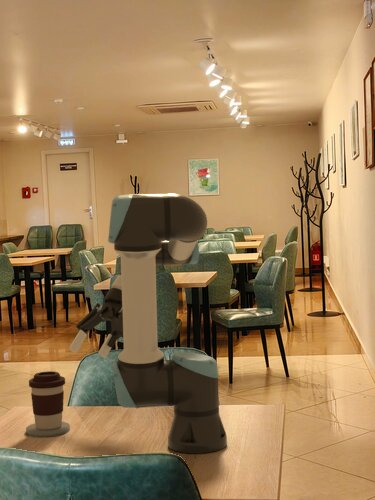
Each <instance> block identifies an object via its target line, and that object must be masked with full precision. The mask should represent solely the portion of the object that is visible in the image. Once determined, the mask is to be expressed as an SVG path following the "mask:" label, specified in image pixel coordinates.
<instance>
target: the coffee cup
mask: <svg viewBox="0 0 375 500" xmlns="http://www.w3.org/2000/svg"><path fill="white" fill-rule="evenodd" d="M65 384H66V377H64V376H61V373H60V372H58V371H54V370H51V371H41V372H36V373H35V374H34V375H33V377H32V378H30V379H29V380H28V386H29V387H30V389H31V395H30V397H31V404H32V412H33V416H34V423H35V426H36V428H37V429H39V430H52V429H57V428H59V427H61V425H62V422H63V412H64V398H65V397H64V395H65V394H64V391H65V390H64V385H65Z"/></svg>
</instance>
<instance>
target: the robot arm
mask: <svg viewBox="0 0 375 500" xmlns="http://www.w3.org/2000/svg"><path fill="white" fill-rule="evenodd" d="M207 227H208V217H207V214H206V212H205V209H204V208H203V207H202V206H201V205H200V204H199V203H198V202H197V201H195V200H194V199H192V198H190V197H188V196H185V195H182V194H179V193H138V194H137V193H130V194H121V195H120V194H119V195H116V196H115V197H113V199H112V201H111V209H110V218H109V229H108V238H107V241H108V243H109V244H113V247H114V251H115V253H117V254H118V255H119V256H120V272H119V273H118V275H117V277H116V278H115V279H114V281H113V283H112V284H111V287H110V288H109V289H108V291H107V293H106V295H105V297H104V298H105V303H104V304H103V305H101V304H100V303H99V302H98V303H96V304H95V306H93V308H92V309H91V310H90V311H89V313H87V314H86V315H85V316H84V318H82V319H81V320H80V321H79V322H78V323H77V324H76V325H75V328H77V329H78V331H77V332H76V335H75V337H74V339H73V341H72V342H71V344H70V345H69V348H68V349H69V350H71V352H73V353H74V354H77V353H78V351H79V349H81V346H82V344H83V342H84V341H85V339H86V338H87V336H88V332H90V331H92V329H94V328H95V327H96V326H98V325H99V324H101V323H104V322H105V321H106V322H108V321H109V322H110V326H111V327H110V328H111V329H110V330H111V331H110V333H109V334H108V335H107V337H106V339H104V342H103V344H102V345H101V347H100V349H99V351H98V353H97V354H98V355H100V356H101V357H102V358H103V359H106V358H107V357H108V355H109V353H110V352H111V350H112V348H113V347H114V345H116V342H117V341H118V340H119V339H120V338H122V340H123V349H122V350H121V351H120V352H119V354H118V355H117V360H118V361H115V362H113V363H112V372H113V373H112V374H113V382H114V388H115V392H116V393H115V394H116V398H117V399H116V400H117V402H118V404H119V406H120V407H121V408H125V409H128V408H129V409H142V408H160V407H172V406H173V418H172V421H171V425H170V429H169V432H168V436H167V447H168V448H169V449H170V450H172V451H175V452H179V453H183V454H207V453H212V452H217V451H220V450H221V449H224V448H226V447H227V444H228V440H227V439H228V438H227V432H226V429H225V427H224V424H223V421H222V418H221V415H220V400H219V399H220V397H219V395H220V393H219V378H220V375H219V368H218V362H217V360H216V359H215V358H214V357H211V356H209V355H206V354H201V353H195V352H175V353H173V354H172V356H171V359H165V354H164V352H163V351H162V350H161V349H159V345H158V312H157V311H158V310H157V309H158V308H157V307H158V305H157V266H177V265H178V266H188V265H189V266H190V265H196V264H198V263H199V258H200V249H199V247H200V246H199V242H198V241H199V240H201V238H203V236H204V235H205V233H206V230H207Z"/></svg>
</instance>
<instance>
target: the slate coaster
mask: <svg viewBox="0 0 375 500" xmlns="http://www.w3.org/2000/svg"><path fill="white" fill-rule="evenodd" d="M70 429H71V428H70V423H69V422H65V421H62V425H61V427H59V428H57V429H52V430H39V429H37V428H36V426H35V422H34V423H32V424H29V425H27V426H26V427H25V434H26V435H27V436H29V437H33V438H42V439H43V438H52V437H53V438H55V437H58V436H62V435H65V434H67V433H69V432H70Z"/></svg>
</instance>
